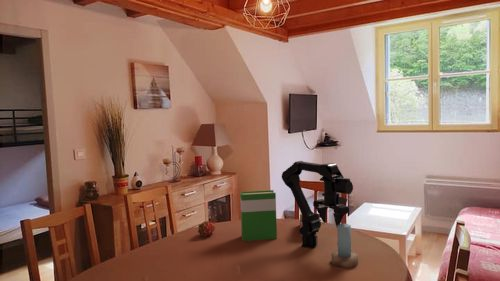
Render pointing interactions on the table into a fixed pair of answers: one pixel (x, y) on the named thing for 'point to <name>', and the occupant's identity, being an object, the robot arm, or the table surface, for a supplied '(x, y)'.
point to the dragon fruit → (206, 229)
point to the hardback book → (258, 215)
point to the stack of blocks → (301, 221)
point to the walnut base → (345, 260)
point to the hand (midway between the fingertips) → (330, 224)
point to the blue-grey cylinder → (344, 240)
